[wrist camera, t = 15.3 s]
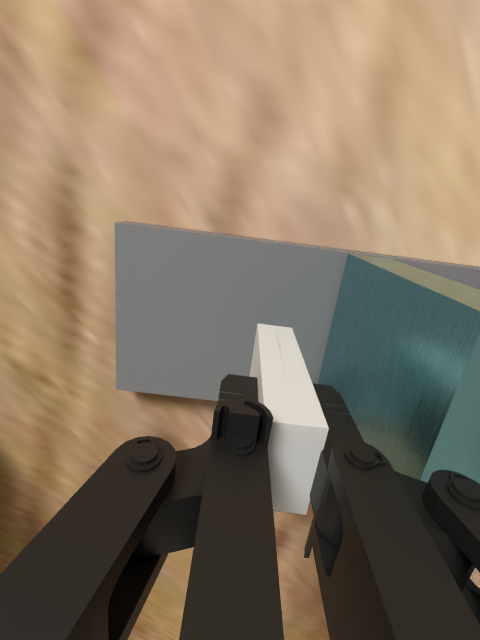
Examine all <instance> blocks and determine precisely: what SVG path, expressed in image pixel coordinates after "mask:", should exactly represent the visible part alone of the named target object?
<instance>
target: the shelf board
mask: <svg viewBox="0 0 480 640" xmlns="http://www.w3.org/2000/svg"><path fill="white" fill-rule="evenodd" d="M348 253H350V254H358V255H365V256H373V257H381V258H389V259H393V260H396V261H398V262H401V263H404V264H407V265H410V266H413V267H416V268H419V269H421V270H424V271H427V272H430V273H433V274H436V275H439V276H442V277H444V278H447V279H450V280H453V281H456V282H459V283H462V284H465V285H467V286H470V287H473V288H476V289H479V290H480V267H476V266H468V265H460V264H452V263H445V262H437V261H429V260H421V259H414V258H406V257H398V256H391V255H383V254H375V253H367V252H360V251H352V250H344V249H336V248H329V247H321V246H313V245H305V244H298V243H290V242H282V241H274V240H267V239H259V238H251V237H243V236H236V235H228V234H220V233H212V232H205V231H197V230H189V229H181V228H174V227H166V226H158V225H150V224H143V223H135V222H127V221H126V222H116V223H115V281H116V389H118V390H126V391H135V392H143V393H152V394H160V395H169V396H177V397H186V398H194V399H203V400H211V401H218V398H219V391H220V385H221V381H222V380H223V379H224V378H225V377H226V376H227V375H228V374H233V375H241V376H249V375H250V369H251V362H252V356H253V349H254V343H255V336H256V330H257V323H258V324H266V325H274V326H282V327H290V328H292V329H293V332H294V335H295V338H296V340H297V343H298V346H299V348H300V351H301V354H302V357H303V359H304V362H305V365H306V368H307V370H308V373H309V376H310V378H311V381H312V383H315V384H317V383H318V379H319V375H320V371H321V366H322V362H323V358H324V354H325V349H326V345H327V341H328V337H329V332H330V328H331V324H332V320H333V315H334V311H335V307H336V303H337V298H338V294H339V290H340V286H341V281H342V277H343V273H344V268H345V264H346V260H347V256H348Z"/></svg>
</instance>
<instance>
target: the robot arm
mask: <svg viewBox="0 0 480 640" xmlns="http://www.w3.org/2000/svg"><path fill="white" fill-rule="evenodd" d="M310 499H311V504H312V509H313V513H314V516H313V520H312V524H311V527H310V531H309V534H308V538H307V542H306V545H305V554H304V558H309V556H310V552H311V549H312V547H313V552H314V557H315V563H316V568H317V573H318V579H319V584H320V589H321V595H322V600H323V605H324V611H325V616H326V621H327V627H328V632H329V637H330V640H480V588H479V587H477V586H476V585H475V584H474V583H473V582H472V581H471V579H470V576H471V574H472V573H473V571H474V569H475V567H476V569H477V570H478V571H479V572H480V484H479V483H478V482H476V481H474V480H472V479H471V478H469V477H467V476H465V475H463V474H460V473H457V472H454V471H451V470H437V471H434V472H433V473H432V474H431V476H430V478H429V481H428V483H427V482H424V481H421V480H418V479H415V478H412V477H410V476H407V475H404V474H401V473H399V472H397V471H394V469H393V468H392V466H391V464H390V462H389V461H388V460H387V458H386V457H385V456H384V454H383V453H381V452H380V451H379V450H377V449H376V448H375V447H374V446H371V445H369V444H367V443H365V442H364V440H363V438H362V436H361V434H360V432H359V430H358V428H357V426H356V424H355V422H354V420H353V418H352V416H351V415H350V412H349V410H348V408H347V406H346V404H345V402H344V400H343V398H342V396H341V394H340V393H338V392H337V391H336V390H335V389H334V388H333V387H332V386H331V385H323V384H315V383H312V381H311V378H310V376H309V373H308V370H307V368H306V365H305V362H304V359H303V357H302V354H301V351H300V348H299V346H298V343H297V340H296V338H295V335H294V332H293V329H292V328H290V327H282V326H274V325H266V324H258V323H257V330H256V336H255V343H254V349H253V356H252V362H251V369H250V375H249V376H241V375H233V374H228V375H227V376H226V377H225V378H224V379H223V380H222V381H221V385H220V391H219V398H218V404H217V406H216V408H215V410H214V417H213V426H212V435H211V437H210V438H209V439H208V440H207V441H206V442H205V443H203V444H202V445H200V446H198V447H195V448H192V449H187V450H180V451H175V449H174V448H173V446H172V445H171V444H170V443H169V442H167V441H165V440H163V439H161V438H158V437H151V436H145V437H137V438H134V439H132V440H129V441H127V442H125V443H123V444H122V445H121V446H120V447H118V448H117V449H116V450H115V451H114V452H113V453H112V454H111V455H110V456H109V457H108V459H107V460H106V461H105V462H104V463H103V464H102V465H101V466H100V467H99V468H98V469H97V470H96V472H95V473H94V474H93V475H92V476H91V477H90V478H89V479H88V480H87V481H86V482H85V483H84V484H83V486H82V487H81V488H80V489H79V490H78V491H77V492H76V493H75V494H74V495H73V496H72V497H71V499H70V500H69V501H68V502H67V503H66V504H65V505H64V506H63V507H62V508H61V509H60V510H59V512H58V513H57V514H56V515H55V516H54V517H53V518H52V519H51V520H50V521H49V522H48V523H47V525H46V526H45V527H44V528H43V529H42V530H41V531H40V532H39V533H38V534H37V535H36V536H35V538H34V539H33V540H32V541H31V542H30V543H29V544H28V545H27V546H26V547H25V548H24V549H23V550H22V552H21V553H20V554H19V555H18V556H17V557H16V558H15V559H14V560H13V561H12V562H11V563H10V565H9V566H8V567H7V568H6V569H5V570H4V571H3V572H2V573H1V574H0V640H127V639H128V637H129V635H130V633H131V631H132V629H133V627H134V625H135V623H136V621H137V618H138V616H139V614H140V612H141V610H142V608H143V606H144V604H145V602H146V600H147V598H148V595H149V593H150V591H151V589H152V587H153V585H154V583H155V581H156V579H157V577H158V575H159V572H160V570H161V568H162V566H163V564H164V562H165V560H166V558H167V555H168V553H171V552H175V551H179V550H183V549H188V548H192V547H194V550H193V556H192V562H191V569H190V575H189V581H188V588H187V594H186V600H185V607H184V613H183V619H182V626H181V632H180V638H179V640H284V635H283V623H282V611H281V599H280V588H279V576H278V564H277V552H276V540H275V528H274V516H273V511H278V512H287V513H295V514H304V515H306V513H307V509H308V506H309V502H310Z"/></svg>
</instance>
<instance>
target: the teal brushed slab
mask: <svg viewBox="0 0 480 640" xmlns="http://www.w3.org/2000/svg"><path fill="white" fill-rule="evenodd" d="M317 384H323V385H331V386H332V387H333V388H334V389H335V390H336V391H337V392H338V393H340V394H341V396H342V398H343V400H344V402H345V404H346V406H347V408H348V410H349V412H350V415H351V416H352V418H353V420H354V422H355V424H356V426H357V428H358V430H359V432H360V434H361V436H362V438H363V440H364V442H365V443H367V444H369V445H371V446H374V447H375V448H376V449H377V450H379V451H380V452H381V453H383V454H384V456H385V457H386V458H387V460H388V461H389V462H390V464H391V466H392V468H393V469H394V471H397V472H399V473H401V474H404V475H407V476H410V477H412V478H415V479H418V480H421V481H424V482H427V483H428V481H429V478H430V476H431V474H432V473H433V472H434V471H437V470H451V471H454V472H457V473H460V474H463V475H465V476H467V477H469V478H471V479H472V480H474V481H476V482H478V483H479V484H480V290H479V289H476V288H473V287H470V286H467V285H465V284H462V283H459V282H456V281H453V280H450V279H447V278H444V277H442V276H439V275H436V274H433V273H430V272H427V271H424V270H421V269H419V268H416V267H413V266H410V265H407V264H404V263H401V262H398V261H396V260H393V259H389V258H381V257H373V256H365V255H358V254H350V253H348V256H347V260H346V264H345V268H344V273H343V277H342V281H341V286H340V290H339V294H338V298H337V303H336V307H335V311H334V315H333V320H332V324H331V328H330V332H329V337H328V341H327V345H326V349H325V354H324V358H323V362H322V366H321V371H320V375H319V379H318V383H317Z"/></svg>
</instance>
